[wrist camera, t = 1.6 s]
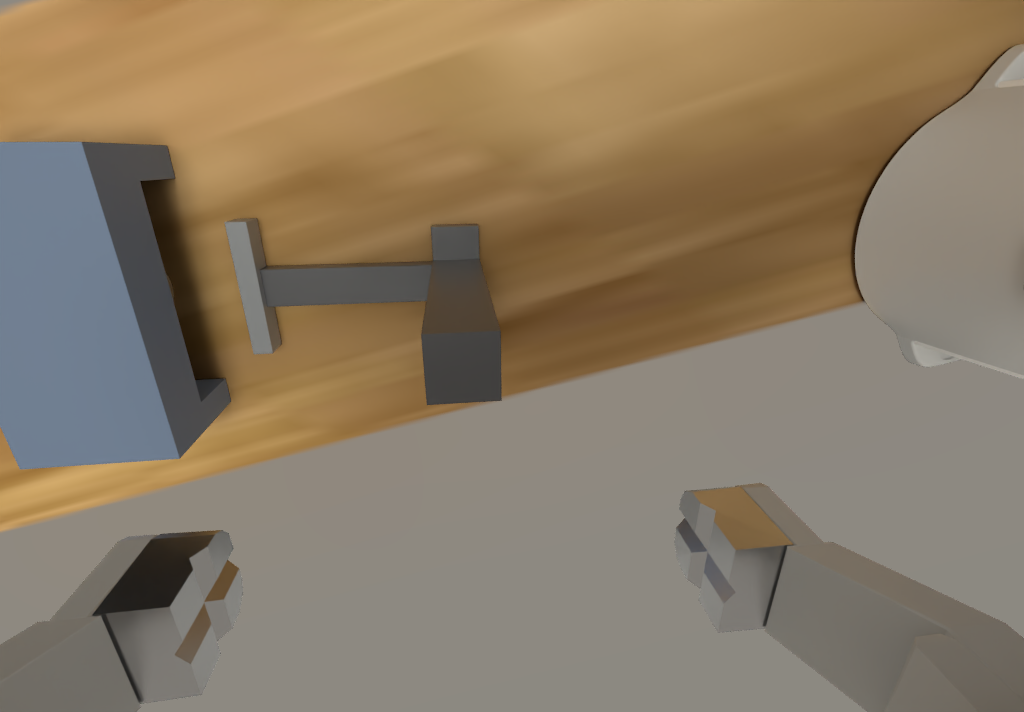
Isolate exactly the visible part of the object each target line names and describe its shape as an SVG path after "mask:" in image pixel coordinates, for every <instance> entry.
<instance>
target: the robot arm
mask: <svg viewBox="0 0 1024 712" xmlns="http://www.w3.org/2000/svg"><path fill="white" fill-rule="evenodd" d="M855 270H856V277H857V282H858V285H859V289H860V291H861V294H862V296H863V298H864V300H865V302H866V304H867V305H868V307H869V308H870V309H871V311H872V312H873V313H874V314H875V315H876V316H877V317H878V318H879V319H881V320H882V321H883V322H884V323H885V324H887V325H888V326H889V327H890V328H891V329H892V330H893V331H894V332H895V333H896V335H897V338H898V342H899V345H900V348H901V351H902V353H903V355H904V357H905V358H906V360H907V361H908V362H910V363H913V364H916V365H919V366H922V367H934V366H938V365H942V364H946V363H950V362H954V361H958V360H965V361H968V362H971V363H975V364H978V365H980V366H984V367H987V368H990V369H993V370H996V371H999V372H1002V373H1005V374H1009V375H1011V376H1014V377H1017V378H1021V379H1024V44H1019V45H1016V46H1014V47H1012V48H1011V49H1009V50H1008V51H1007V52H1005V53H1004V54H1003V55H1002V56H1001V57H1000V58H999V59H998V60H997V61H996V62H995V64H994V65H993V66H992V67H991V68H990V69H989V70H988V72H987V73H986V74H985V75H984V76H983V78H982V79H981V80H980V81H979V83H978V84H977V85H976V86H975V88H974V89H973V90H972V91H971V92H970V93H969V94H968V95H966V96H965V97H964V98H963V99H961V100H960V101H959V102H957V103H956V104H954V105H953V106H951V107H950V108H948V109H946V110H945V111H943V112H942V113H940V114H939V115H937V116H936V117H935V118H933V119H932V120H931V121H929V122H928V123H927V124H926V125H924V126H923V127H922V128H921V129H920V130H919V131H918V132H916V133H915V134H914V135H913V136H912V137H911V138H910V139H909V140H908V141H907V142H906V143H905V144H904V145H903V147H902V148H901V149H900V150H899V151H898V152H897V154H896V155H895V156H894V158H893V159H892V160H891V161H890V163H889V164H888V166H887V167H886V169H885V170H884V172H883V173H882V175H881V176H880V178H879V180H878V181H877V183H876V185H875V187H874V189H873V191H872V193H871V195H870V197H869V199H868V202H867V204H866V206H865V209H864V212H863V215H862V218H861V221H860V225H859V229H858V233H857V239H856V247H855ZM679 509H680V511H681V512H682V514H683V515H684V517H685V519H684V520H683V521H682V522H681V523H680V524H679V525H678V526H677V528H676V536H675V548H676V555H677V559H678V562H679V564H680V567H681V570H682V571H683V573H684V575H685V576H686V579H687V580H688V581H690V582H691V583H693V584H694V585H696V586H697V587H699V588H701V591H700V597H699V601H700V603H701V605H702V606H703V608H704V610H705V612H706V613H707V615H708V617H709V619H710V620H711V622H712V623H713V625H714V627H715V629H716V630H717V632H731V631H742V630H753V629H764V628H765V632H767V633H768V634H769V635H770V636H772V637H773V638H774V639H775V640H777V641H778V642H779V643H781V644H782V645H783V646H784V647H786V648H787V649H788V650H790V651H791V652H792V653H793V654H795V655H796V656H797V657H798V658H800V659H801V660H802V661H803V662H805V663H806V664H807V665H809V666H810V667H811V668H812V669H814V670H815V671H816V672H817V673H819V674H820V675H821V676H823V677H824V678H825V679H827V680H828V681H829V682H830V683H831V684H833V685H834V686H835V687H837V688H838V689H839V690H840V691H842V692H843V693H844V694H845V695H847V696H848V697H849V698H851V699H852V700H853V701H854V702H856V703H857V704H858V705H859V706H861V707H862V708H863V709H865V710H866V711H867V712H1024V638H1023V637H1022V636H1020V635H1019V634H1018V633H1017V632H1016V631H1014V630H1013V629H1012V628H1011V627H1009V626H1008V625H1007V624H1006V623H1004V622H1002V621H1000V620H998V619H995V618H993V617H991V616H989V615H987V614H985V613H983V612H981V611H978V610H976V609H974V608H972V607H969V606H967V605H966V604H963V603H961V602H959V601H957V600H955V599H953V598H951V597H948V596H947V595H944V594H942V593H940V592H938V591H936V590H934V589H932V588H930V587H927V586H925V585H923V584H921V583H919V582H917V581H915V580H912V579H910V578H908V577H906V576H904V575H902V574H899V573H898V572H895V571H893V570H891V569H889V568H886V567H885V566H883V565H880V564H878V563H876V562H874V561H872V560H870V559H868V558H866V557H864V556H861V555H859V554H857V553H855V552H853V551H851V550H849V549H846V548H844V547H842V546H840V545H838V544H836V543H834V542H823V541H822V540H821V539H820V538H819V537H818V536H817V535H816V534H815V533H814V532H813V531H812V530H811V529H810V528H809V527H808V526H807V525H806V524H805V523H804V522H803V521H802V520H801V519H800V518H799V517H798V516H797V515H796V514H795V513H794V512H793V511H792V510H791V509H790V508H789V507H788V506H787V505H786V504H785V503H784V502H783V501H782V500H781V499H780V498H779V497H778V496H777V495H776V494H775V493H774V492H773V491H772V490H771V489H770V488H769V487H768V486H766V485H764V484H762V483H756V484H748V485H738V486H735V487H724V488H714V489H703V490H691V491H685V492H684V494H683V495H682V497H681V501H680V507H679ZM232 551H233V545H232V542H231V539H230V536H229V533H227V532H225V531H223V530H216V531H201V532H186V533H185V532H184V533H168V534H160V535H144V536H131V537H127V538H125V539H122V540H120V541H119V542H117V543H116V544H115V546H114V547H113V548H112V549H111V550H110V551H109V552H108V554H107V555H106V556H105V557H104V558H103V559H102V561H101V562H100V563H99V564H98V565H97V566H96V567H95V569H94V570H93V571H92V572H91V573H90V574H89V575H88V577H87V578H86V579H85V580H84V581H83V582H82V584H81V585H80V586H79V587H78V588H77V589H76V590H75V592H74V593H73V594H72V595H71V596H70V598H69V599H68V600H67V601H66V602H65V603H64V604H63V605H62V607H61V608H60V609H59V610H58V611H57V612H56V614H55V615H54V616H53V617H52V618H51V619H50V621H43V622H37V623H35V624H33V625H32V626H30V627H28V628H27V629H25V630H24V631H22V632H20V633H19V634H17V635H16V636H14V637H12V638H11V639H9V640H7V641H5V642H4V643H2V644H1V645H0V712H137V710H138V709H140V704H144V703H151V702H157V701H164V700H170V699H177V698H183V697H191V696H197V695H202V693H203V690H204V689H205V687H206V684H207V682H208V680H209V678H210V676H211V674H212V671H213V669H214V667H215V665H216V663H217V661H218V658H219V656H220V654H221V653H220V650H219V646H218V643H217V641H218V640H219V639H220V638H222V637H223V636H224V635H225V634H226V633H227V632H229V631H230V630H231V629H232V628H233V626H234V623H235V621H236V618H237V616H238V614H239V611H240V605H241V601H242V595H243V586H242V577H241V573H240V569H239V568H238V567H236V566H235V565H234V564H232V563H231V562H230V561H228V558H229V556H230V554H231V552H232Z"/></svg>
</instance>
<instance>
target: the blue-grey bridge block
mask: <svg viewBox="0 0 1024 712" xmlns="http://www.w3.org/2000/svg"><path fill="white" fill-rule="evenodd" d="M174 178H175V176H174V172H173V168H172V164H171V160H170V156H169V152H168V148H167V146H163V145H140V144H117V143H93V142H0V427H1V429H2V431H3V433H4V436H5V438H6V440H7V442H8V444H9V446H10V449H11V451H12V453H13V455H14V457H15V459H16V462H17V464H18V466H19V468H20V469H33V468H47V467H62V466H77V465H92V464H107V463H122V462H137V461H152V460H166V459H180V458H181V457H182V456H183V454H184V453H185V452H186V451H187V450H188V449H189V448H190V447H191V446H192V444H193V443H194V442H195V441H196V440H197V439H198V438H199V437H200V435H201V434H202V433H203V432H204V431H205V430H206V429H207V428H208V427H209V425H210V424H211V423H212V422H213V421H214V420H215V419H216V418H217V417H218V415H219V414H220V413H221V412H222V411H223V410H224V409H225V408H226V407H227V405H228V404H229V403H230V402H231V399H230V395H229V391H228V387H227V383H226V379H207V380H195V378H194V374H193V371H192V367H191V363H190V360H189V356H188V353H187V349H186V345H185V342H184V338H183V334H182V331H181V327H180V324H179V320H178V316H177V313H176V309H175V306H174V302H173V298H172V295H171V291H170V287H169V284H168V280H167V277H166V273H165V269H164V266H163V262H162V259H161V255H160V251H159V248H158V244H157V241H156V237H155V233H154V230H153V226H152V222H151V219H150V215H149V212H148V208H147V204H146V201H145V197H144V194H143V190H142V186H141V183H140V181H147V180H160V179H174Z"/></svg>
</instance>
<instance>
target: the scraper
mask: <svg viewBox="0 0 1024 712" xmlns="http://www.w3.org/2000/svg"><path fill="white" fill-rule="evenodd" d="M225 227H226V231H227V236H228V240H229V245H230V249H231V254H232V258H233V263H234V267H235V272H236V276H237V281H238V285H239V290H240V294H241V299H242V303H243V308H244V312H245V317H246V321H247V326H248V330H249V335H250V339H251V344H252V348H253V353H254V354H268V353H274V352H275V350H276V349H277V348H278V347H279V346H280V345H281V344H282V343H281V338H280V333H279V328H278V323H277V318H276V313H275V306H303V305H330V304H357V303H384V302H412V301H427V302H426V308H425V314H424V320H423V327H422V333H421V337H422V350H423V362H424V375H425V387H426V400H427V405H434V404H451V403H468V402H485V401H502V400H501V332H500V327H499V324H498V321H497V317H496V314H495V310H494V307H493V304H492V300H491V297H490V293H489V290H488V287H487V283H486V280H485V276H484V273H483V269H482V266H481V263H480V259H479V228H478V224H443V225H431V234H432V249H433V261H428V262H392V263H356V264H321V265H285V266H266V262H265V257H264V252H263V246H262V241H261V236H260V231H259V226H258V221H257V218H251V219H234V220H231V221H227V222H225Z"/></svg>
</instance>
